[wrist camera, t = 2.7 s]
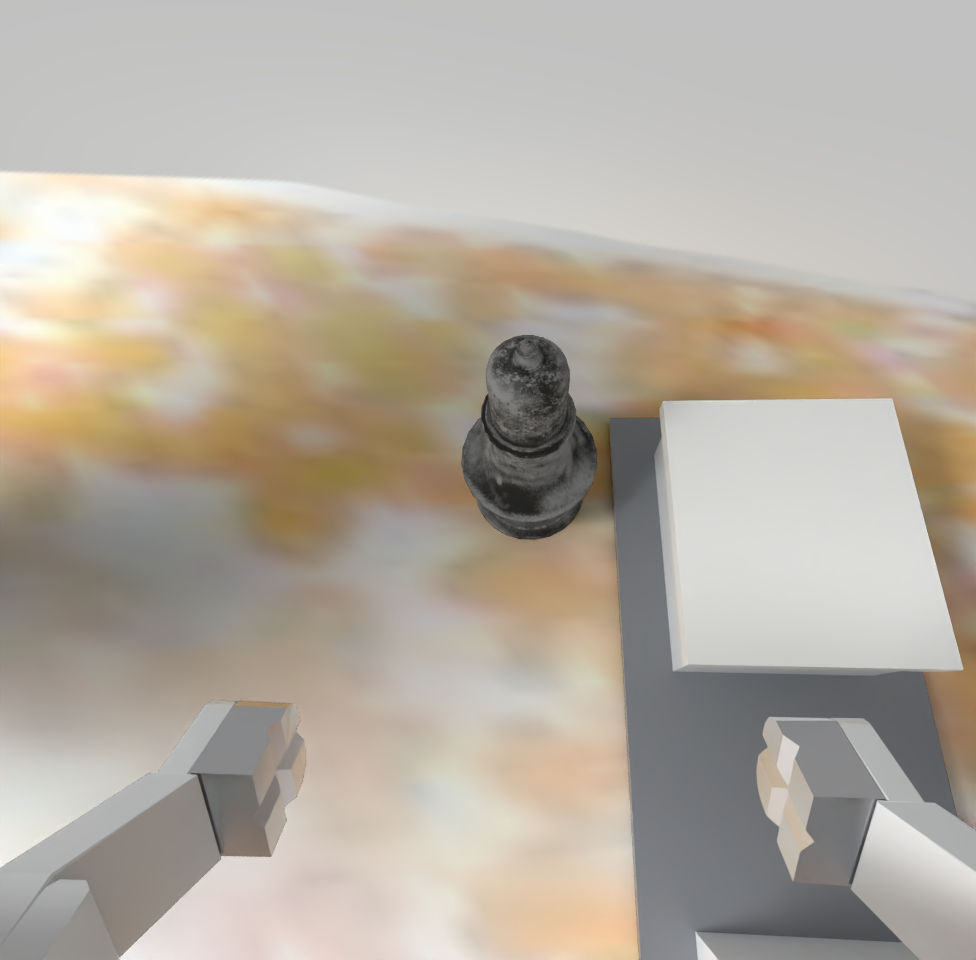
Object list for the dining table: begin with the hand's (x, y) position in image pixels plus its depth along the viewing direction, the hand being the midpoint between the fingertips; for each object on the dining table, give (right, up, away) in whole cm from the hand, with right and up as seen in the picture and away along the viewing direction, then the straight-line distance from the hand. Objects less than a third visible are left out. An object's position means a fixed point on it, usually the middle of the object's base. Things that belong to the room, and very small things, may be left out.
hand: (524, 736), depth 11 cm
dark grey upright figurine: (+1, +4, +19) cm, 20 cm away
